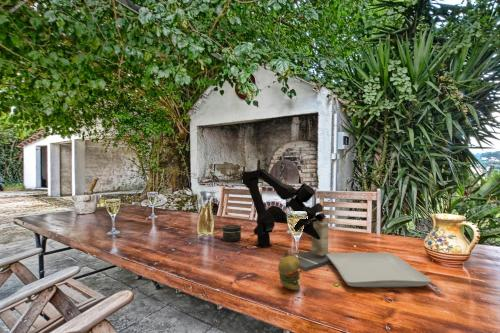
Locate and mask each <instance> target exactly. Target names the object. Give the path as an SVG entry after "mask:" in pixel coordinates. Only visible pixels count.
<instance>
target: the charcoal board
mask: <svg viewBox="0 0 500 333" xmlns="http://www.w3.org/2000/svg"><path fill="white" fill-rule="evenodd" d="M329 253H330V252H328V253H327V254H329ZM296 255H297V254H293V255H292V256H295V257H296ZM298 259H299V260H300V263H301V266H300V268H299V269H300V270H301V271H304V272H309V271H312V270H315V269H318V268H320V267H325V266H327V265H330V264H333V263H332V262H331V261H330V259H329V258H328V257H327V255H326V254H325V255H323V256H321V255H317V254H313V253H311V250H308V251H304V252H301V253H298ZM299 269H298V270H299Z"/></svg>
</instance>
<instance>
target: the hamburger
mask: <svg viewBox="0 0 500 333" xmlns="http://www.w3.org/2000/svg"><path fill="white" fill-rule="evenodd" d="M281 255H282V256H283V258H282V259H281V260H280V261H279V263H278V272H279V273H278V275H279V277H278V278H279V281H280V283H281V285H282V286H284V287H285V288H286V289H289V290H291V291H299V289H301V285H300V275H301V274H300V271H299V268H300V266H301V263H300V260H299V259H298V258H297V257H295V256H293V255H288V256H285V253H281Z"/></svg>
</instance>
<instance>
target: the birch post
mask: <svg viewBox="0 0 500 333" xmlns="http://www.w3.org/2000/svg"><path fill="white" fill-rule="evenodd" d="M313 227H314V229H315V230H316V232H317V233H318V235H319V237H320V240H318V239H316V238H314V237H312V236H311V247H310V248H311V250H310V251H311V253H313V254H317V255H321V256H323V255H325V254H327V253H329V222H326V221H323V222H321V221H316V222H313Z"/></svg>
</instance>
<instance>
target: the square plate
mask: <svg viewBox="0 0 500 333" xmlns="http://www.w3.org/2000/svg"><path fill="white" fill-rule="evenodd" d="M328 253H329V254H326V255H327V257H328V258H329V259H330V261H331V262H332V263H331V264H333V265H334V267H335V268H336V270H337V271H338V273H339V275H340V276H341V278H342V280H343V281H344V282H345V283H346V285H347V286H350V287H356V288H358V287H359V288H408V287H424V286H427V285H429V284H431V283H432V282H433V281H432V279H430V278H429V277H428V276H426V275H425V274H423V273H422V272H421V271H420V270H418V269H416V268H415V267H413V266H412V265H411V264H409V263H407V261H405V260H403V259H401V258H400V257H398V256H397V255H395V254H394V253H391V252H337V253H335V252H333V253H332V252H331V253H330V252H328Z"/></svg>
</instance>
